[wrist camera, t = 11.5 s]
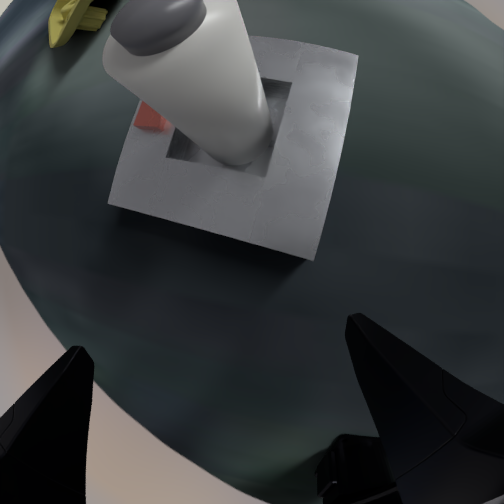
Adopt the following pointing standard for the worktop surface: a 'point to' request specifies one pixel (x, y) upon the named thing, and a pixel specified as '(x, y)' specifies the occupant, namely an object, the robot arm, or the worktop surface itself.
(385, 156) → the worktop surface
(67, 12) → the plastic component
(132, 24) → the plug
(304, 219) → the socket box
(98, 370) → the worktop surface
